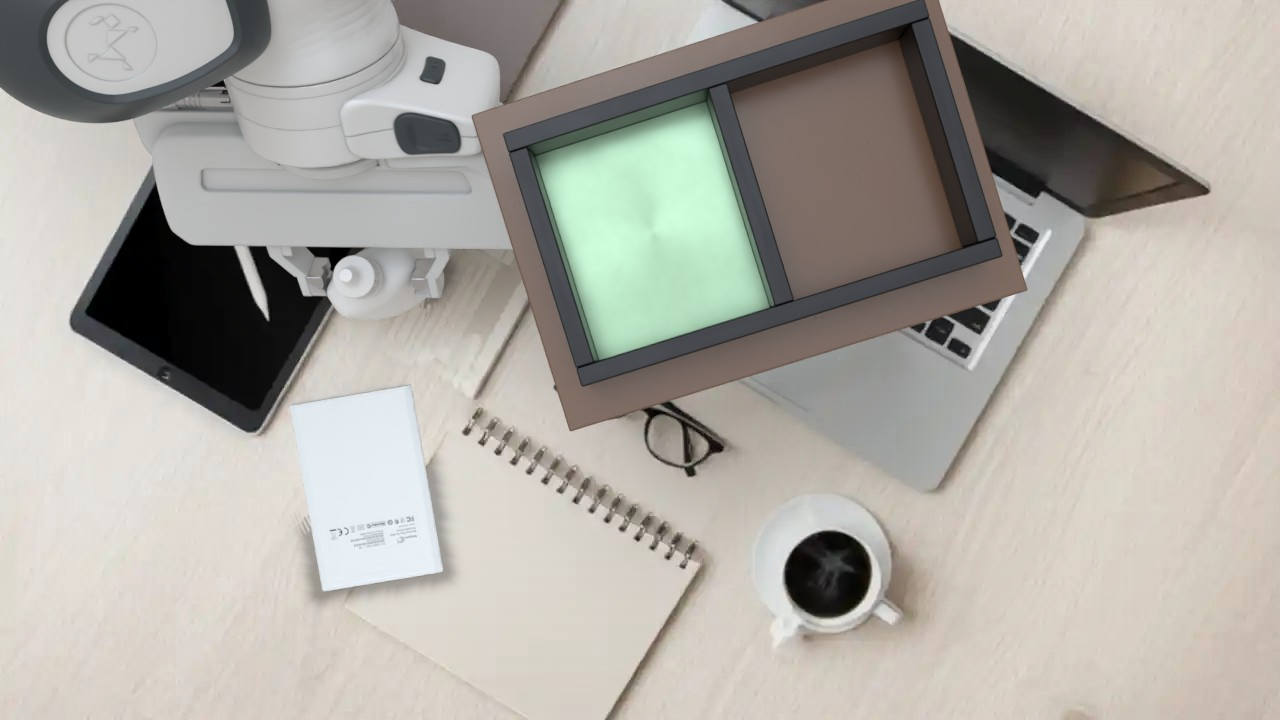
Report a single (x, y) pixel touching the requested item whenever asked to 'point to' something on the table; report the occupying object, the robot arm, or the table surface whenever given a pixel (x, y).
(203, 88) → the robot arm
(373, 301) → the eye dropper bottle
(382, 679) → the table surface
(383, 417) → the hard drive
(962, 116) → the brown compartment tray
